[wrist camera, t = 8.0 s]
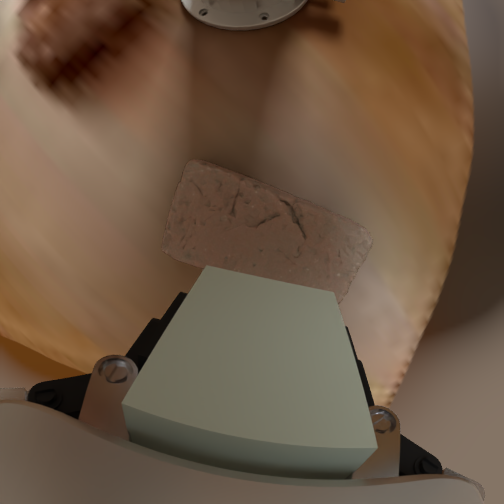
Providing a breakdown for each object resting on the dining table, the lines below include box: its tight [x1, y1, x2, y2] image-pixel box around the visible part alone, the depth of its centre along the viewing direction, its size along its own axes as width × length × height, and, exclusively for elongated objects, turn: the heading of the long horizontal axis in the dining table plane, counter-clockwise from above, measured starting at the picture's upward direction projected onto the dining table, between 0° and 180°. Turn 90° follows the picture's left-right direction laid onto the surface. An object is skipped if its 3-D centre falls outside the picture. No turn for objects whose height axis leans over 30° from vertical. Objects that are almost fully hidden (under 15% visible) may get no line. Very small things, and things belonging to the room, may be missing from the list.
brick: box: [161, 159, 373, 304], centre depth 24 cm, size 16×8×5 cm, turn 69°
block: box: [121, 265, 378, 480], centre depth 8 cm, size 5×5×7 cm
